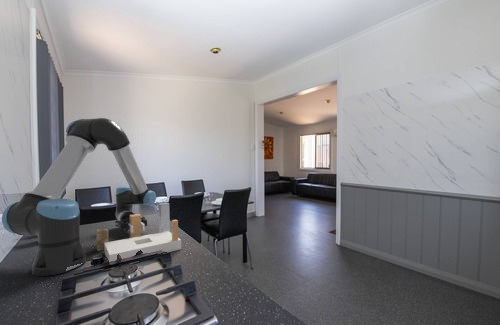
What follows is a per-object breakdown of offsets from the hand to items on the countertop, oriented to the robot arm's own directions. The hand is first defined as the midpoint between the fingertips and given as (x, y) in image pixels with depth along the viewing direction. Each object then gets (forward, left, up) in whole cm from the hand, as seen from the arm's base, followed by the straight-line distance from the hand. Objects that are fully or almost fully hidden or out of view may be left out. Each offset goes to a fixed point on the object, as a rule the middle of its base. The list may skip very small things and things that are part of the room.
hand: (138, 228), depth 108 cm
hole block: (0, -9, -7) cm, 11 cm away
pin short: (-13, +5, -7) cm, 16 cm away
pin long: (+13, +5, -7) cm, 16 cm away
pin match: (0, +5, -7) cm, 9 cm away
